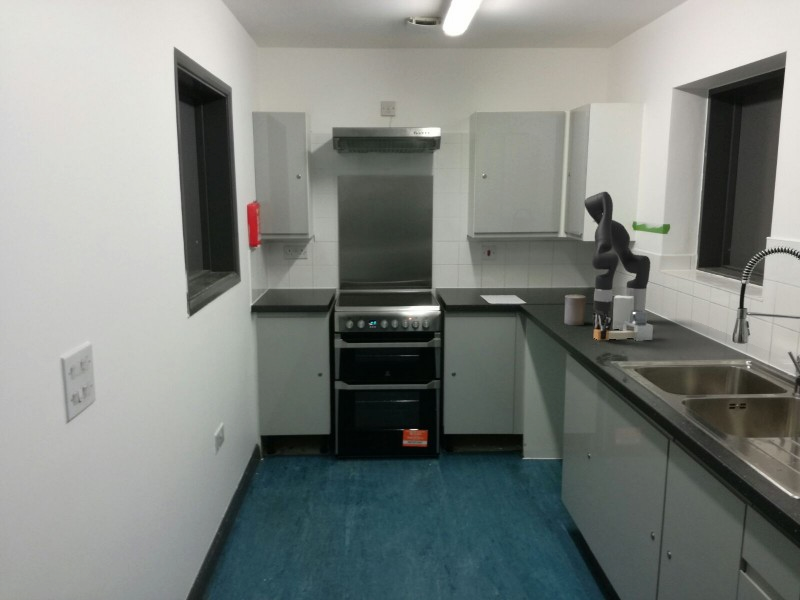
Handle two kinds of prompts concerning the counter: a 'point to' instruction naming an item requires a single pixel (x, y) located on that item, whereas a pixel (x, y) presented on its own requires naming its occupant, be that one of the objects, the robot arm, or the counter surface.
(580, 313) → the pillar candle
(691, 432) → the counter surface
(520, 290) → the counter surface
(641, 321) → the grey box with ball
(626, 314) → the skincare box
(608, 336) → the plug rod
